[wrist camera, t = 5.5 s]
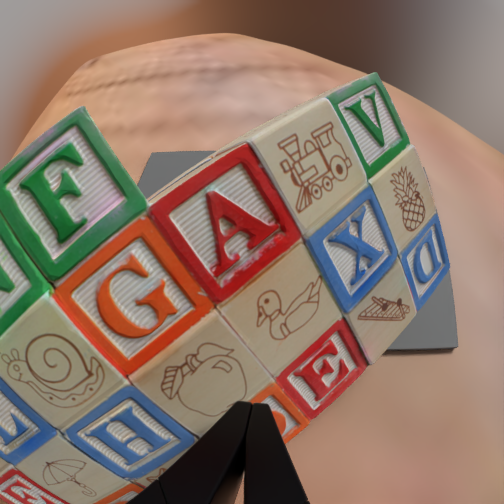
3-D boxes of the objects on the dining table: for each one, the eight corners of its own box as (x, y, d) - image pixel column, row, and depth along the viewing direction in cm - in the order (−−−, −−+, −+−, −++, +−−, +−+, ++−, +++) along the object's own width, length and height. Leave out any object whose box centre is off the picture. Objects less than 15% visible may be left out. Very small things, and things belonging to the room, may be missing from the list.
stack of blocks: (366, 250, 18) (263, 57, 13) (453, 270, 12) (339, -1, 8) (88, 469, 13) (-68, 312, 8) (96, 553, 7) (-131, 364, 3)
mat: (454, 348, 15) (458, 346, 14) (95, 319, 17) (92, 317, 17) (422, 170, 21) (424, 167, 21) (153, 156, 24) (152, 152, 24)
